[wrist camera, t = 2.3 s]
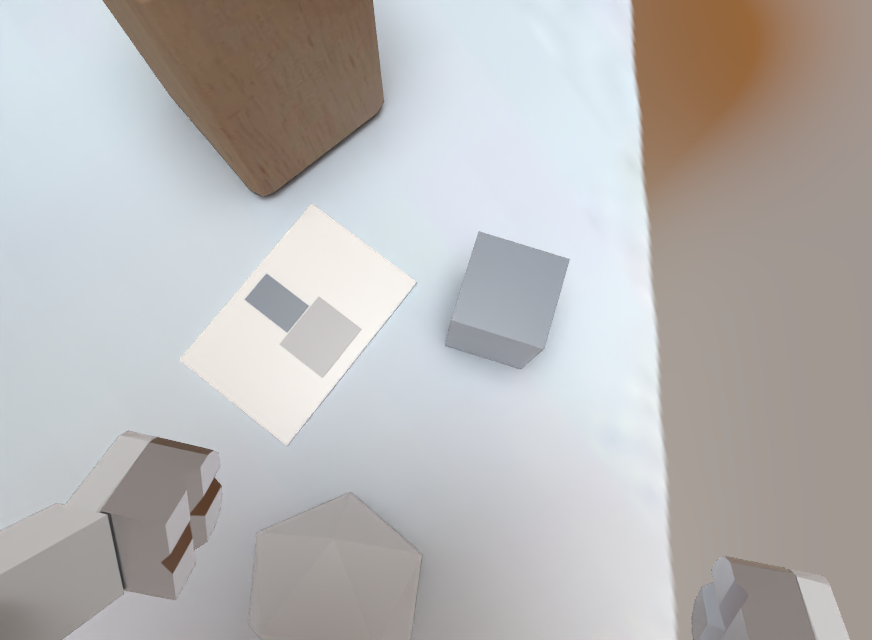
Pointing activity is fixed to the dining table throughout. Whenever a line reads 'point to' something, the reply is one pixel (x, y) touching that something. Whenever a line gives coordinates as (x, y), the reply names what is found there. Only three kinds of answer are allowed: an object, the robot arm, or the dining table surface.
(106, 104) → the dining table surface
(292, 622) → the die
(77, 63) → the dining table surface
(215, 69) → the block
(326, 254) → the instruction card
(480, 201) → the dining table surface
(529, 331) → the brick
